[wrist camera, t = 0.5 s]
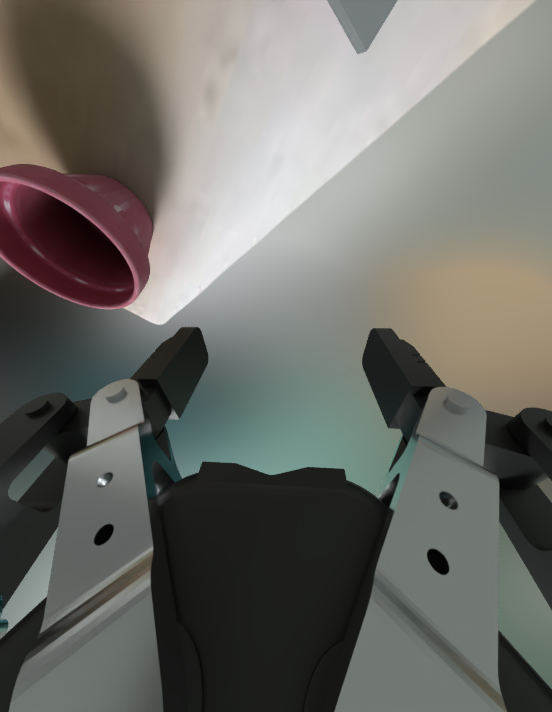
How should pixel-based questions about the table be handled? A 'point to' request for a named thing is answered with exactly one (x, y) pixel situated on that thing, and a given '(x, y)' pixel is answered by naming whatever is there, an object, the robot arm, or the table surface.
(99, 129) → the table surface
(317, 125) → the table surface
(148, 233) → the plant pot
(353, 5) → the console
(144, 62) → the table surface
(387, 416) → the robot arm
